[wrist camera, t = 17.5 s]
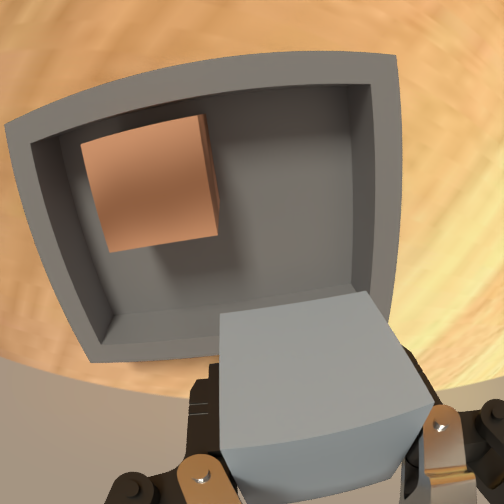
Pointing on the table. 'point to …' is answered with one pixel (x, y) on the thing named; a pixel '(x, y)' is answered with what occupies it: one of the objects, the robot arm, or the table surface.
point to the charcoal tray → (224, 197)
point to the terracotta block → (154, 183)
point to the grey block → (315, 399)
